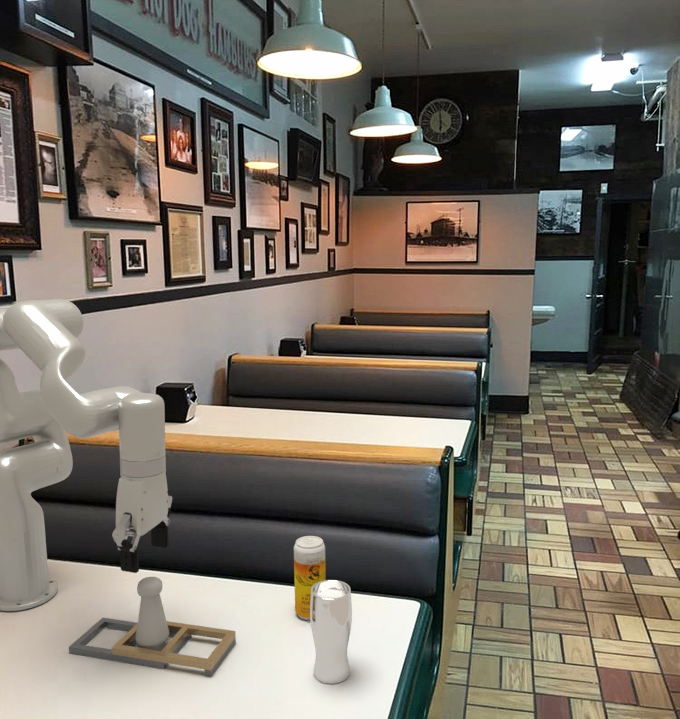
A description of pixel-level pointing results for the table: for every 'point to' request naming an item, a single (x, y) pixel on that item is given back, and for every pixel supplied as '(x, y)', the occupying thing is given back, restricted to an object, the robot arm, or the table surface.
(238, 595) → the table surface
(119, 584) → the table surface
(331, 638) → the beer glass
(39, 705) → the table surface
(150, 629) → the salt shaker
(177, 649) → the grey rectangular frame
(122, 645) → the gold rectangular frame
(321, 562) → the beer can
